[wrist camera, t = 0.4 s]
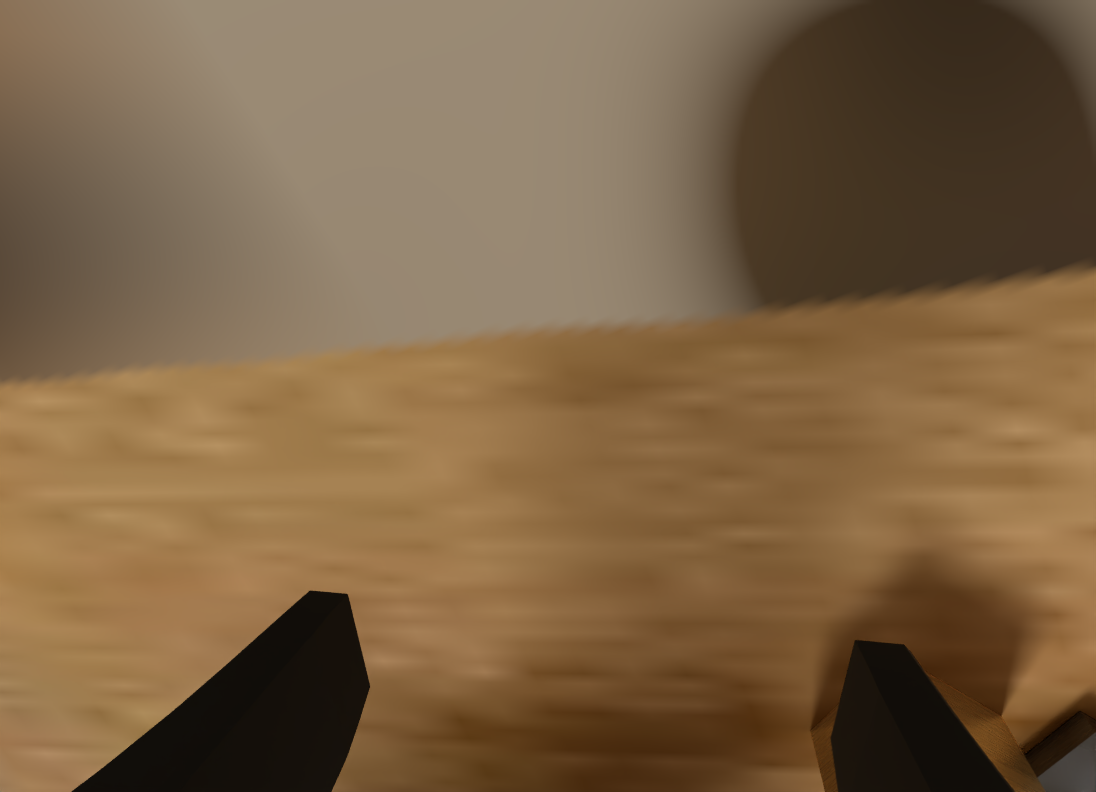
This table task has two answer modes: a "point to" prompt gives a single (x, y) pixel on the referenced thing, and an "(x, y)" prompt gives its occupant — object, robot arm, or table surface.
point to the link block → (977, 721)
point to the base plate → (1067, 757)
